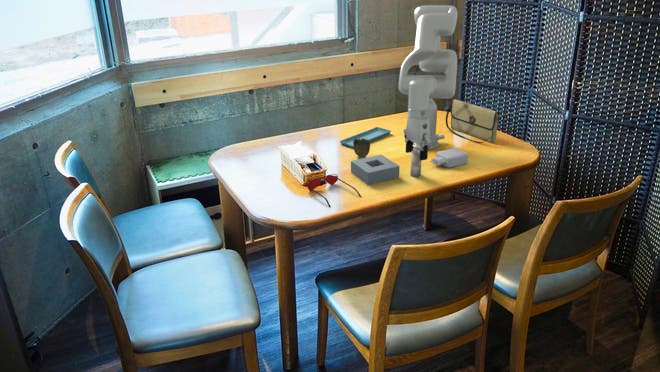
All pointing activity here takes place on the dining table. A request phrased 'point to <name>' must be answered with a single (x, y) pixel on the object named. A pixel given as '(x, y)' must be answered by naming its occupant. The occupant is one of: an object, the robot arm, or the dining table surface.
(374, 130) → the shallow long dish
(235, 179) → the dining table surface
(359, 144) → the cup
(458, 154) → the charger
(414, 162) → the peg
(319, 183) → the glasses
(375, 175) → the socket block
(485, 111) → the clutch purse
